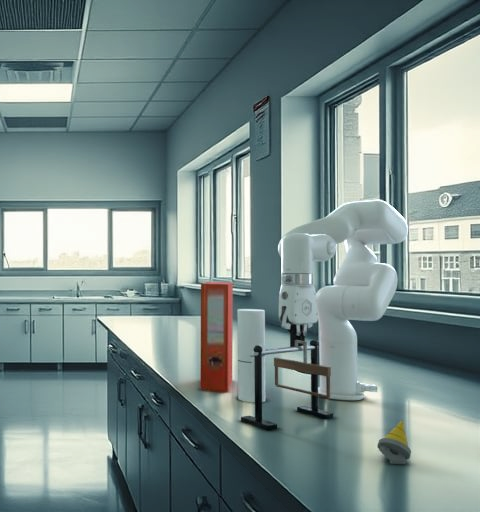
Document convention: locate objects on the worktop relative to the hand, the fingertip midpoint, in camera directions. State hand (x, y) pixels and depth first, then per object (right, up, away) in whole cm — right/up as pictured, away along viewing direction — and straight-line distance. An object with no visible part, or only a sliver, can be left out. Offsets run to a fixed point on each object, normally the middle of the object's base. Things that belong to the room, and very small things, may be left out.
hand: (297, 350), depth 144 cm
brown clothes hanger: (-3, -9, -8) cm, 13 cm away
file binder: (-12, -16, +27) cm, 33 cm away
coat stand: (-8, -15, -11) cm, 20 cm away
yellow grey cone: (0, -15, -38) cm, 40 cm away
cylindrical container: (-8, -16, +9) cm, 20 cm away
